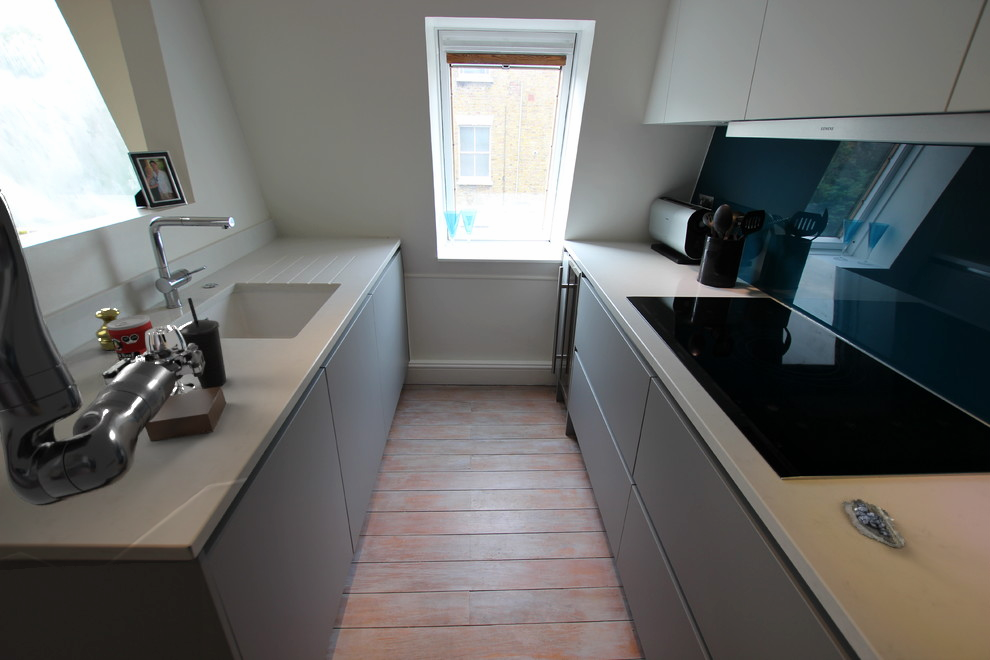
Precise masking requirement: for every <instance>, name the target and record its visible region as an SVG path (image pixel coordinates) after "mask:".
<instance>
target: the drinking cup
mask: <svg viewBox="0 0 990 660" xmlns="http://www.w3.org/2000/svg"><path fill="white" fill-rule="evenodd" d="M187 303H188V305H189V308H190V312H191V316H192V319H193V320H191V321H188V322H187V323H185V324H182V325H181V326H179V327H178V329H179V330H180V332H181V333H182V335H183V337H184V339H185V341H186V344H187V346H188V345H189V344H190V343H195V345H197V346H198V349H199V350H201V351H202V354H203V357H204V361H205V365H204V369H203V373H202V375H201V376H199V377H197V379H198V382H199V384H200V386H201V389H206V388H214V387H222V386H223V385H225V384H226V383H227V375H226V368H225V362H224V355H223V348H222V343H221V336H220V330H219V328H220V323H219V322H218V321H217V320H214V319H213V320H212V319H198V316H197V312H196V309H195V306H194V302H193V298H192V297H188V298H187Z"/></svg>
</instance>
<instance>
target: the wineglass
mask: <svg viewBox="0 0 990 660" xmlns="http://www.w3.org/2000/svg"><path fill="white" fill-rule="evenodd" d="M178 328H179V327H178V325H175V324H166V325H165V324H164V325H160V326H154V327H153V328H152V329H150V330H148V331H146V332H145V344H146V350H147V353H148V355H149V357H150V358H151V359H152V360H153V361H154V362H157V361H159V360H164V359H166V358H168V357H169V356H171V355H173V354H180V353H182V352H184V350H185V349H186V347H187V344H186V341H185V339H184V337H183V335H182V333H181V332H180V330H179V329H178ZM173 362H174V361H173ZM195 385H196V384H194V383H192V382H182V383H181V381H180V379H179V380H177V381H176V383H175V386H174V389H173V392H172V393H171V396H175V395H181V394H184V393H187V392H189V391H191V390H194V388H195Z"/></svg>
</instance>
